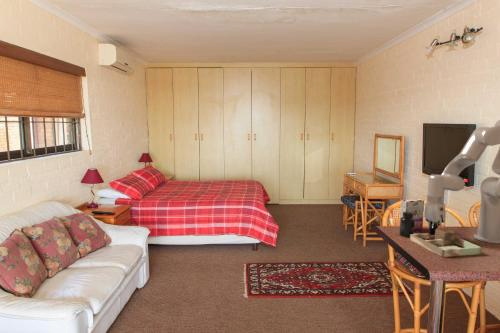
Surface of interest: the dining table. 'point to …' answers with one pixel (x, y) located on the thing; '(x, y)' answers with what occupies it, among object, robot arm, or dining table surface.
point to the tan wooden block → (445, 236)
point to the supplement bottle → (407, 224)
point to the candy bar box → (414, 211)
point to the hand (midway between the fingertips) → (432, 234)
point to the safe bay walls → (466, 248)
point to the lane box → (433, 244)
